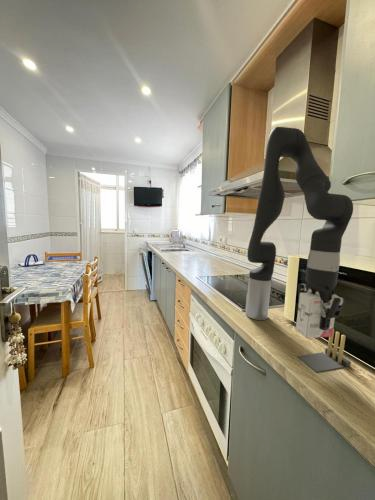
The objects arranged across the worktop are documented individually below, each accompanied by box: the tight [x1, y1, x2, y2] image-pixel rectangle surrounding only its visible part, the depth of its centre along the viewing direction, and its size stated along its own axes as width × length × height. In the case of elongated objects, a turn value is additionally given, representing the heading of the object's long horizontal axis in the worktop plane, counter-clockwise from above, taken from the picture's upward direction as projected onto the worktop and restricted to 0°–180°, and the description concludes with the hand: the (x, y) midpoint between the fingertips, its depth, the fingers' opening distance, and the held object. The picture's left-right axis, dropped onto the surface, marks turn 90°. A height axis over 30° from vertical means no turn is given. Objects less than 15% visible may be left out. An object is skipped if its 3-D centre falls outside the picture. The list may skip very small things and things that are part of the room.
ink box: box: [295, 293, 336, 339], centre depth 60 cm, size 9×5×12 cm, turn 99°
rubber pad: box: [297, 351, 344, 373], centre depth 63 cm, size 7×10×1 cm
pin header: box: [324, 328, 352, 368], centre depth 64 cm, size 7×3×9 cm, turn 15°
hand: (314, 324), depth 61 cm, fingers closed on ink box, 5 cm apart
